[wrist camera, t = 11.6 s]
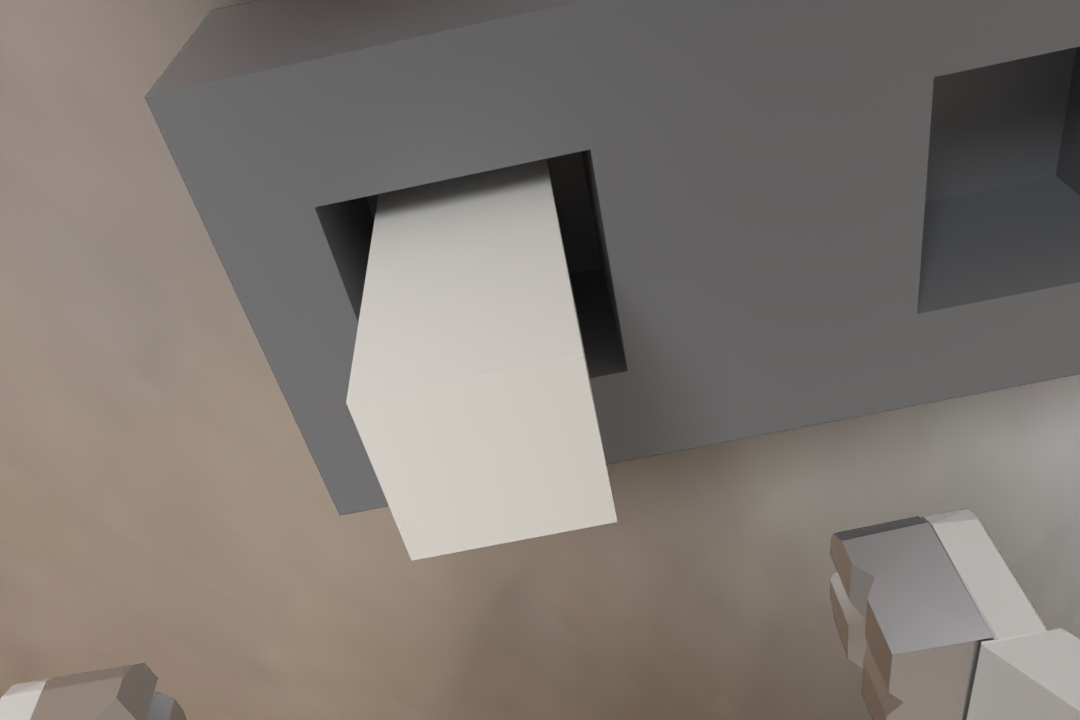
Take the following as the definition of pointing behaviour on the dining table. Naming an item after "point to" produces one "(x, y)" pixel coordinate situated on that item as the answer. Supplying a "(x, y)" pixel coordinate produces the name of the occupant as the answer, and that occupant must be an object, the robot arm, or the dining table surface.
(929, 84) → the socket block
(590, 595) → the dining table surface
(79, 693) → the robot arm
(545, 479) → the plug
